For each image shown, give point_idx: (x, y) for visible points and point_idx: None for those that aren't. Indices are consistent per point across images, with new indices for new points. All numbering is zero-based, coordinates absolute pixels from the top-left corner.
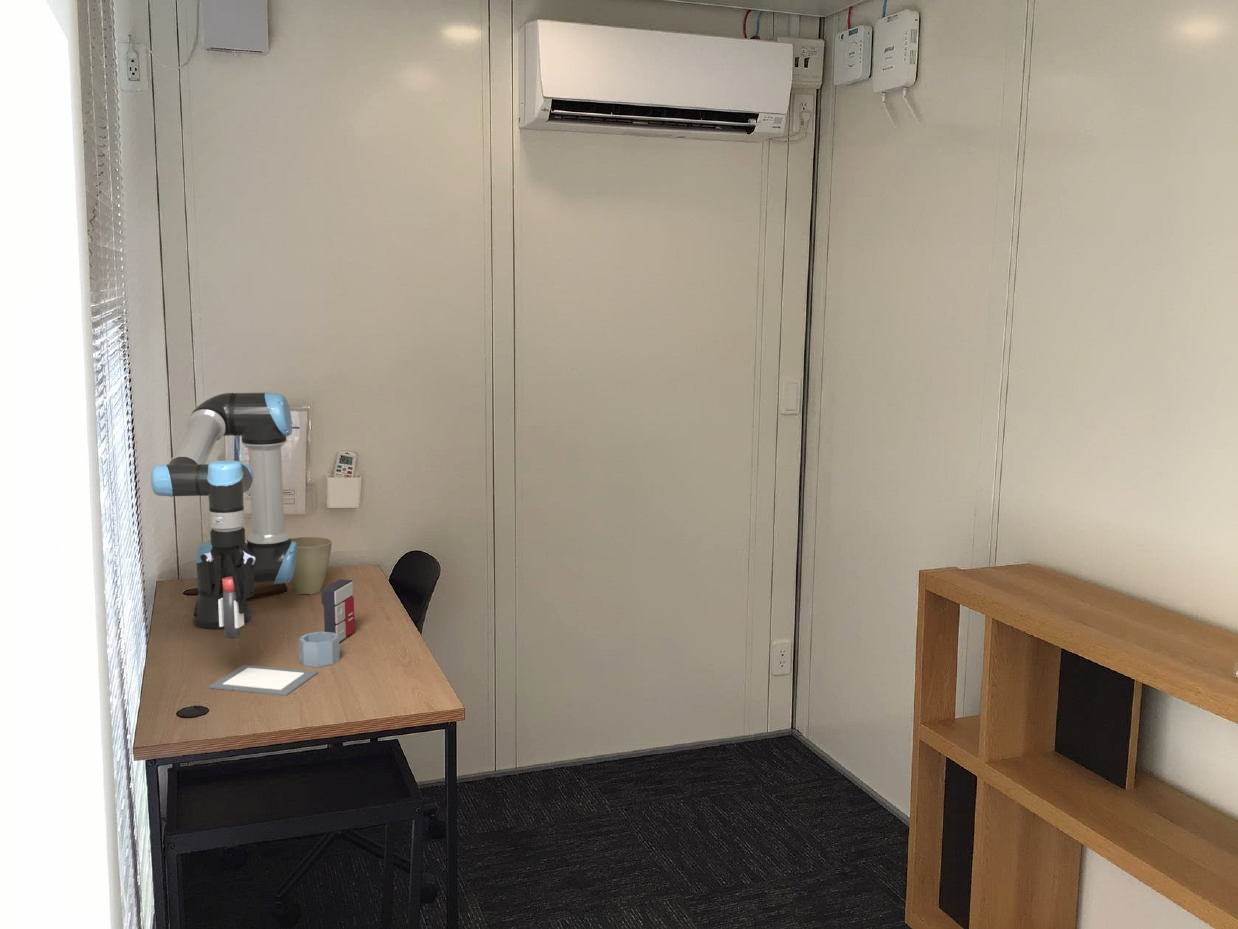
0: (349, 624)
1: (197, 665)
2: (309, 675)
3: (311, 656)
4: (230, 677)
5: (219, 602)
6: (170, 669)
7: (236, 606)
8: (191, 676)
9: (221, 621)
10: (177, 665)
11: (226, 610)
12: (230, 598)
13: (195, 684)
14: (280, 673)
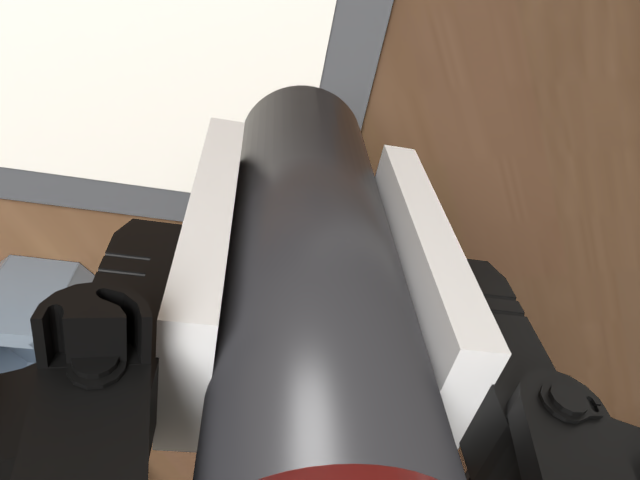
0: None
1: (527, 233)
2: None
3: (23, 287)
4: (333, 91)
5: (476, 320)
6: (632, 184)
7: (181, 261)
8: (527, 112)
9: (399, 170)
10: (608, 227)
11: (344, 227)
12: (278, 362)
13: (485, 6)
14: (109, 151)
